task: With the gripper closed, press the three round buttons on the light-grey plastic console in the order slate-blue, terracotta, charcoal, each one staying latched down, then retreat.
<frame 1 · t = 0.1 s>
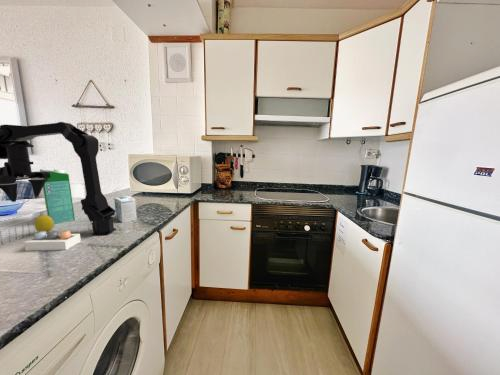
hand: (25, 198, 83), 15 cm above the countertop, fingers open, 9 cm apart
light bulb box: (126, 219, 105), on the countertop
charcoal button: (53, 236, 74), point 3 cm above the countertop, slide at 0.0 cm
slate button: (40, 236, 74), point 3 cm above the countertop, slide at 0.0 cm
lemon: (45, 234, 86), on the countertop
terracotta button: (65, 236, 75), point 3 cm above the countertop, slide at 0.0 cm
milk carton: (61, 220, 102), on the countertop
console: (54, 245, 75), on the countertop
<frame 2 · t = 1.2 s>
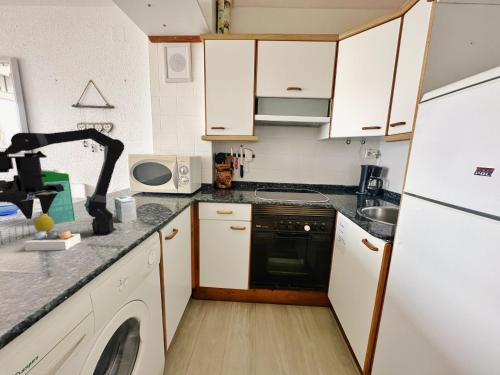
hand: (37, 216, 73), 11 cm above the countertop, fingers open, 6 cm apart
nothing on the countertop moved.
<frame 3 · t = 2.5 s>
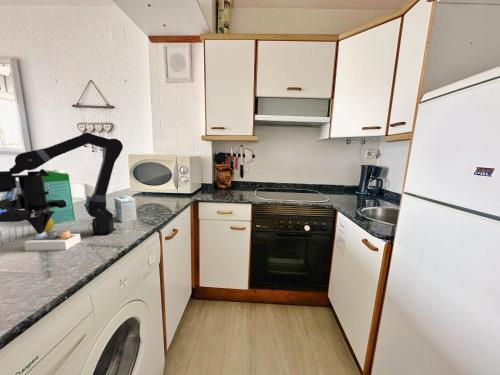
hand: (40, 233, 74), 5 cm above the countertop, fingers closed, pressing on slate button
slate button: (40, 237, 74), point 3 cm above the countertop, slide at 0.2 cm, touching gripper
everything else where it was.
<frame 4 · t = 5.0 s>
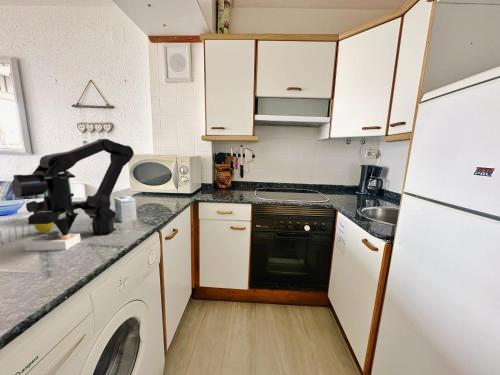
hand: (65, 234, 74), 4 cm above the countertop, fingers closed, pressing on terracotta button
slate button: (41, 239, 74), point 2 cm above the countertop, slide at 1.2 cm
terracotta button: (65, 238, 75), point 3 cm above the countertop, slide at 1.0 cm, touching gripper
everything else where it was.
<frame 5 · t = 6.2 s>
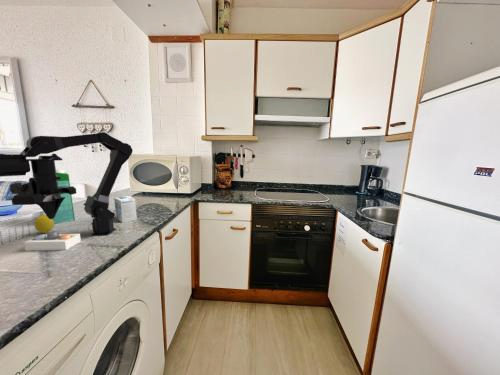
hand: (51, 218, 73), 10 cm above the countertop, fingers closed
terracotta button: (65, 239, 75), point 2 cm above the countertop, slide at 1.2 cm
everything else where it was.
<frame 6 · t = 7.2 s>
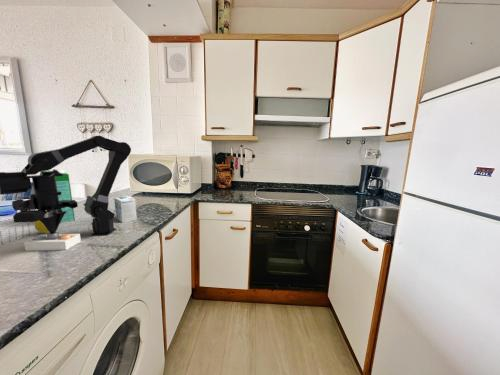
hand: (53, 233, 74), 5 cm above the countertop, fingers closed, pressing on charcoal button
charcoal button: (53, 237, 74), point 3 cm above the countertop, slide at 0.4 cm, touching gripper
everything else where it was.
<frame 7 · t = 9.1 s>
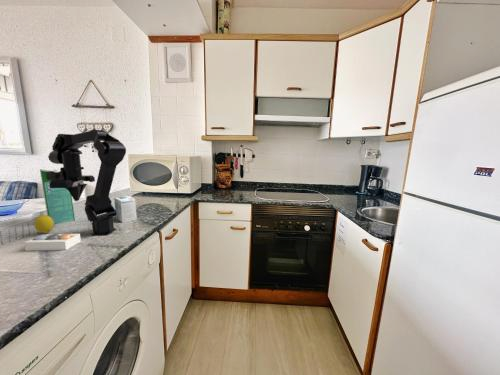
hand: (76, 200, 91), 12 cm above the countertop, fingers closed
charcoal button: (53, 239, 74), point 2 cm above the countertop, slide at 1.2 cm
everything else where it was.
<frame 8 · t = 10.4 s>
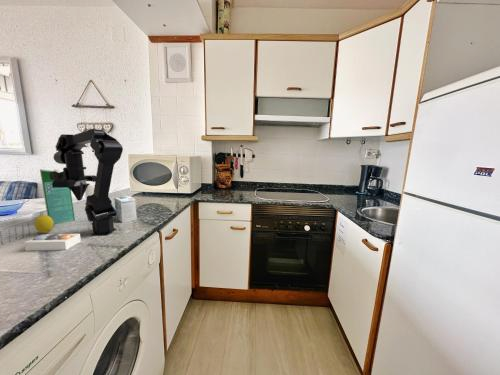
hand: (79, 200, 92), 12 cm above the countertop, fingers closed
nothing on the countertop moved.
at the end: slate button slide at 1.2 cm; terracotta button slide at 1.2 cm; charcoal button slide at 1.2 cm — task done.
